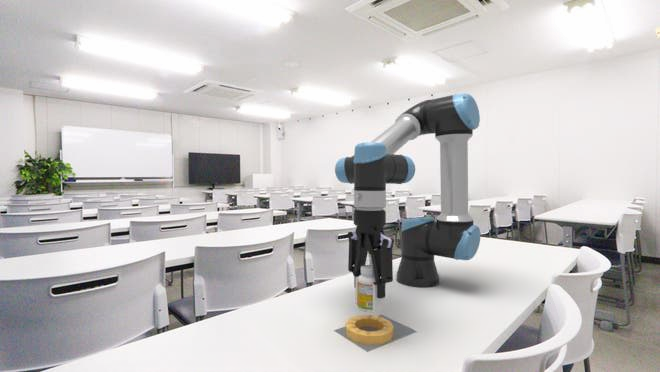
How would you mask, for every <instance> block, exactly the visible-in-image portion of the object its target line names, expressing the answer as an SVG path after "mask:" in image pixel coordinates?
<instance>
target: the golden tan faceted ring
mask: <svg viewBox="0 0 660 372" xmlns="http://www.w3.org/2000/svg"><path fill="white" fill-rule="evenodd" d="M344 324H345V325H344V327H345V332H346V335H347V337H348V338H349V339H351V340H352V341H354V342H356V343H361V344H365V345H381V344H384V343H386V342H389V341H391V339H392V337H393V335H394V326H393V325H392V323H391V322H390V321H389V320H387V319H385V318H383V317H379V315H372V314H365V315H364V314H359V315H355V316H353V317H350V318H348V319H347V321H346V322H345V323H344ZM361 327H375V328H378V329H380V330H378V331H369V332H368V331H363V330H360V329H358V328H361Z"/></svg>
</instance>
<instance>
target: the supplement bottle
mask: <svg viewBox="0 0 660 372" xmlns="http://www.w3.org/2000/svg"><path fill="white" fill-rule="evenodd" d="M373 282H375V276H374V271H373V265H372V264H365V265H364V266H361V275H360V276H359V277H358V289H357V304H356V305H357V308H358V309H359V310H360V311H363V312H367V313H368V312H369V313H374V312H373Z"/></svg>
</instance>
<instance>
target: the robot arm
mask: <svg viewBox="0 0 660 372" xmlns="http://www.w3.org/2000/svg"><path fill="white" fill-rule="evenodd" d="M480 118H481V117H480V110H479V107H478V104H477V102H476V100H475V98H474V97H473V96H472V95H471V94H469V93H457V94H456V93H455V94H453V95H452V94H451V95H447V96H442V97H437V98H432V99H427V100H423V101H420V102H419V103H417V104H415V105H413V106H412V107H410V108H408V109H406V110H405V111H404V112H402V113H401V114H400V115H399V116H397V118H396V119H395V122H394V123H393V124H392V125H391V126H389V127H388V128H386V129H385V130H384V131H383V132H382V133H381V134H379V135H377V136H376V137H375V138H373V140H371V141H369V142H368V141H367V142H360V143H357V144H355V146H354V154H353V155H352V156H345V157H341V158H340V159H338V160H337V162H336V164H335V165H334V166H335V167H334V169H335V170H334V175H335V177H336V178H337V180H338V181H339V182H341V183H343V184H350V185H352V184H353V185H354V186H353V207H354V208H356V209H354V210H353V225H354V226H356V228H355V230H354V231H349V232H347V237H348V264H347V265H348V267H347V269H348V272H349V273H352V274H353V276H354V278H353V279H354V282H353V283H354V289H355V291H354V292H355V293H354V294H355V295H354V296H355V297H354V299H355V303H354V304H355V305H357V289H358V277H359V276H360V275H361V266H364V265H366V263H367V258H368V254H370V257H371V265H373V271H374V276H375V282H373V312H372V313H373V314H376V313H379V312H383V311H384V304H385V303H384V302H385V298H386V284H388V283H392V282H393V281H394V279H393V278H394V275H393V274H394V273H393V272H394V271H393V269H394V268H393V264H394V263H393V248H394V244H395V239H394V238H393V237H387V236H386V235H385V230H384V227H385V226H386V224H387V220H386V219H387V217H386V216H387V211H386V210H385V208H386V207H387V194H386V193H387V191H386V190H387V189H386V187H387V184H390V185H391V184H392V185H394V184H396V185H402V184H407V183H409V182H410V181H412V180H413V178H414V176H415V173H416V165H415V162H414V161H413V159H412V158H411V157H410V156H407V155H403V154H396V153H397V152H398V151H399V150H400V149H401V148H402V147H404V146H405V145H406V144H407V143H408V142H409V141H412V140H415V139H417V138H418V137H419V136H422V135H423V136H424V135H431V134H434V138H435V139H436V140H437V141H438V142H439V145H440V146H439V149H440V150H439V157H440V158H439V160H440V161H439V162H440V163H439V164H440V166H439V168H440V169H439V171H440V172H439V175H440V177H439V178H440V214H439V215H438V216H437V217H436V219H435V217H432V216H428V217H427V216H425V217H415V218H414V217H413V218H405V219H403V221H402V222H401V228H400V229H401V230H400V235H401V238H400V239H401V245H400V246H401V251H400V252H401V259H400V262H399V266H398V268H397V271H396V277H395V278H396V281H397V282H398V283H400V284H403V285H406V286H410V287H416V288H430V287H429V286H431V287H434V286H438V285H439V284H438V283H440V275H439V273H438V270H437V266H436V262H435V256H437V257H442V258H447V259H448V258H449V259H452V260H453V259H454V260H456V261H459V260H460V261H470V260H472V259H473V258H474V257H475V255H476V254H477V252H478V249H479V247H480V244H481V229H480V227H479V226H478V225H476V224H474V218H473V217H472V216H471V215H470V214H469V169H468V168H469V159H468V158H469V155H468V154H469V153H468V151H469V148H468V146H469V145H468V141H469V140H470V139H471V138H472V137H473V133H474V131H473V130H476V129H479V126H480V121H481V119H480ZM437 284H438V285H437Z"/></svg>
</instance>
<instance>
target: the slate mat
mask: <svg viewBox="0 0 660 372" xmlns="http://www.w3.org/2000/svg"><path fill="white" fill-rule="evenodd" d="M378 316H379V317H383V318H385V319H387V320H389V321H390V322H391V323H392V325H393V326H394V335H393V337H392V339H391V341H389V342H386V343H384V344H381V345H365V344H361V343H356V342H354V341H352V340H351V339H349V338H348V337H347V335H346V332H345V326H343V327H340V328H337V329H334V332H335V333H337V334H339V335H340V336H342V337H343V338H345V339H347V341H349V342H351V343H353V344H354V345H356V346H357V347H359V348H361V349H362V350H364V352H367V353H368V352H371V351H372V350H373V351H374V350H376V349H378V348H381V347H383V346H385V345H386V346H387V344H390V343H393V342H395V341H397V340H401V339H403V338H405V337H407V336H410V335H412V334H414V333H415V334H416V333H417V332H418V331H417V330H415V329H413V328H411V327H409V326H406V324H403V323H400V322H398V321H396V320H395V319H392V318H391V317H387V316H385V315H384V314H380V315H378ZM358 329H360V330H363V331H368V332H369V331H378V330H380V329H378V328H375V327H361V328H358Z"/></svg>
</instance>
